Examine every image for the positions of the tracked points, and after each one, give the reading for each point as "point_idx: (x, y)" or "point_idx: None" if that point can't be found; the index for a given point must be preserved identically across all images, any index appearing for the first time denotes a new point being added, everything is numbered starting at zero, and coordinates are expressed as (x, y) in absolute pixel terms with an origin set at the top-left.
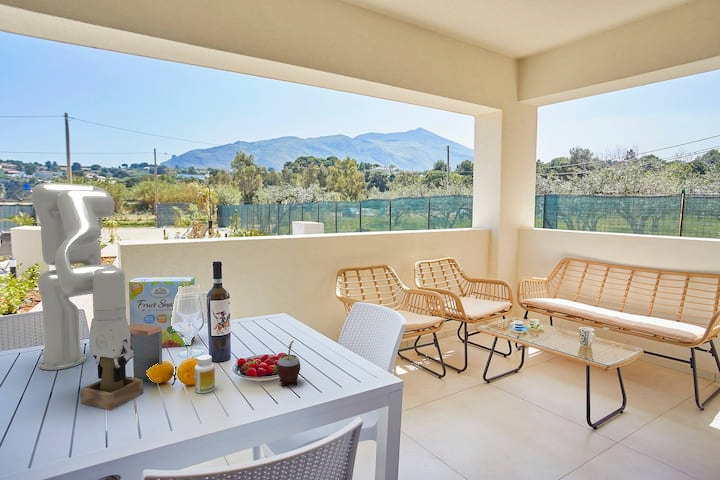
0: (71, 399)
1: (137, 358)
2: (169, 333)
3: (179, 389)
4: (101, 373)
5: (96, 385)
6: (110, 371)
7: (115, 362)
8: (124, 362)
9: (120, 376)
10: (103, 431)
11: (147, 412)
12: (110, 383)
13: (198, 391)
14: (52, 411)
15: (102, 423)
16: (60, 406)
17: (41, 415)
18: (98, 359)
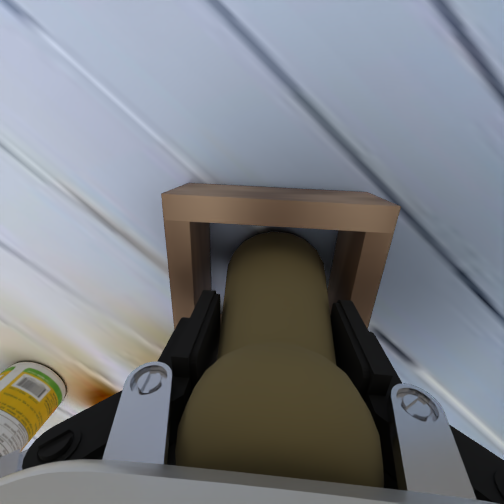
0: (445, 212)
1: None
2: None
3: (108, 368)
4: (341, 328)
5: (352, 276)
6: (237, 335)
7: (150, 412)
8: (63, 426)
9: (180, 324)
10: (35, 9)
11: (44, 214)
12: (240, 280)
13: (22, 365)
14: (451, 84)
15: (112, 74)
16: (448, 141)
17: (480, 24)
18: (416, 438)
